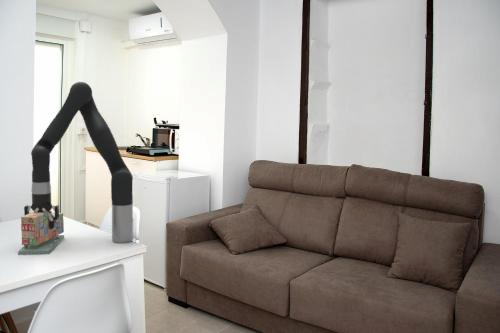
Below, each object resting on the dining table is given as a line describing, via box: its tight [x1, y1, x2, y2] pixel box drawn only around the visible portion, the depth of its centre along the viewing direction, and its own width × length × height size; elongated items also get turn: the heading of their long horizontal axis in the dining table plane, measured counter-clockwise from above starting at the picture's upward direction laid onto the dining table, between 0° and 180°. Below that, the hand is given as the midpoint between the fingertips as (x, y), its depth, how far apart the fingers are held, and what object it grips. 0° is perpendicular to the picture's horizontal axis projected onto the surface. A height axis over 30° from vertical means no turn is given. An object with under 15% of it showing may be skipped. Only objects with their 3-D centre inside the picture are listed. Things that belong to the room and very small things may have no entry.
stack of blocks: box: [20, 210, 65, 246], centre depth 195 cm, size 21×6×12 cm, turn 172°
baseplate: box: [17, 234, 65, 256], centre depth 195 cm, size 12×24×2 cm, turn 9°
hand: (42, 229), depth 194 cm, fingers closed on stack of blocks, 7 cm apart
